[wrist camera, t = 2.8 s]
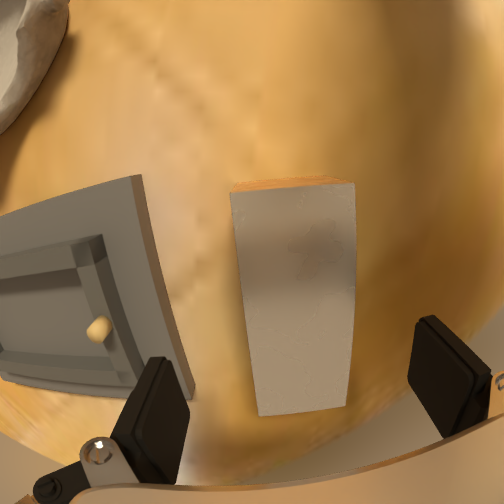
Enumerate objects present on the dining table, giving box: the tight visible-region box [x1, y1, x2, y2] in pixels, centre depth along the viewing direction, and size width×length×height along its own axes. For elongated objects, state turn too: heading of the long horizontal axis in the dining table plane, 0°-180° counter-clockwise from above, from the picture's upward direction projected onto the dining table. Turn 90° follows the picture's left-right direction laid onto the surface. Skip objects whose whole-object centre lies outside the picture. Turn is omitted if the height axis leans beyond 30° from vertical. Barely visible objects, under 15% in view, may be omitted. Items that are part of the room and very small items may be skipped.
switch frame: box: [0, 174, 195, 400], centre depth 15 cm, size 20×14×4 cm
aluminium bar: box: [230, 176, 356, 416], centre depth 14 cm, size 4×11×5 cm, turn 6°
